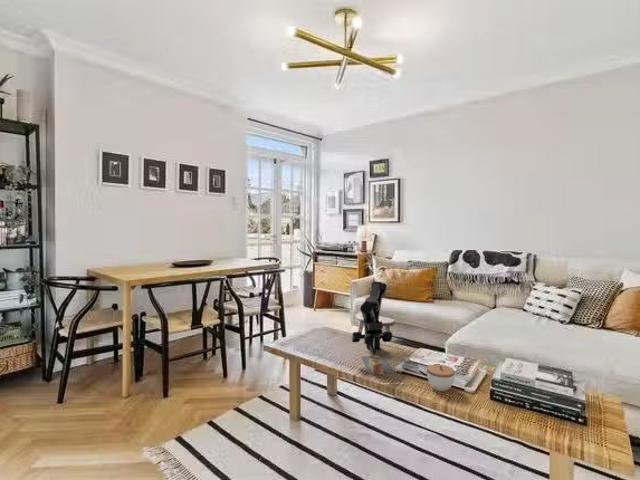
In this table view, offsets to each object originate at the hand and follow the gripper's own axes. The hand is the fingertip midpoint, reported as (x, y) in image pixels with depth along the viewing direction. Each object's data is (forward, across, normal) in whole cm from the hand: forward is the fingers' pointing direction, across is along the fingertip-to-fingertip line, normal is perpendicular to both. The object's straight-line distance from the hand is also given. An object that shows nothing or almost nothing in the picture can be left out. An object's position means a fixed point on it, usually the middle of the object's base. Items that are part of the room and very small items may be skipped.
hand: (374, 353), depth 169 cm
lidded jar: (+20, +23, -10) cm, 32 cm away
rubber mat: (+2, +2, +7) cm, 8 cm away
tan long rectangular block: (+1, 0, +4) cm, 4 cm away
